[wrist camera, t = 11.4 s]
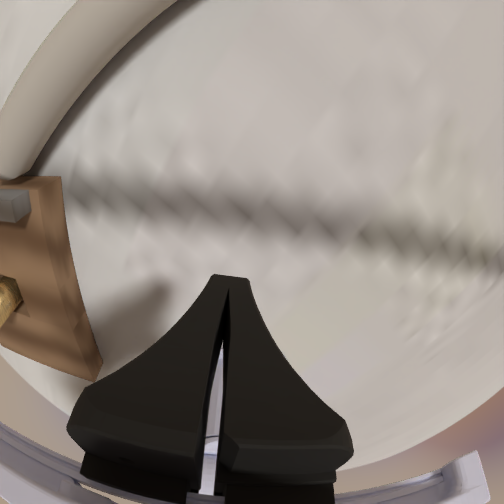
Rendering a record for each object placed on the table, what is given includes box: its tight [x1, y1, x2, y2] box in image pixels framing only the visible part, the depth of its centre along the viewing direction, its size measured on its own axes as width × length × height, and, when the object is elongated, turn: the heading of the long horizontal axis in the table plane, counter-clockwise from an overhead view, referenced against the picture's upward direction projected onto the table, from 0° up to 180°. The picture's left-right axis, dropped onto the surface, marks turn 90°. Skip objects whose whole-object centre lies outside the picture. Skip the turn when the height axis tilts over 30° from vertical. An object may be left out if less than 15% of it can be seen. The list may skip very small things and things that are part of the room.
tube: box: [0, 0, 177, 180], centre depth 11 cm, size 5×5×25 cm
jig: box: [0, 176, 103, 382], centre depth 21 cm, size 22×16×5 cm
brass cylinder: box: [0, 276, 23, 328], centre depth 20 cm, size 3×3×7 cm
